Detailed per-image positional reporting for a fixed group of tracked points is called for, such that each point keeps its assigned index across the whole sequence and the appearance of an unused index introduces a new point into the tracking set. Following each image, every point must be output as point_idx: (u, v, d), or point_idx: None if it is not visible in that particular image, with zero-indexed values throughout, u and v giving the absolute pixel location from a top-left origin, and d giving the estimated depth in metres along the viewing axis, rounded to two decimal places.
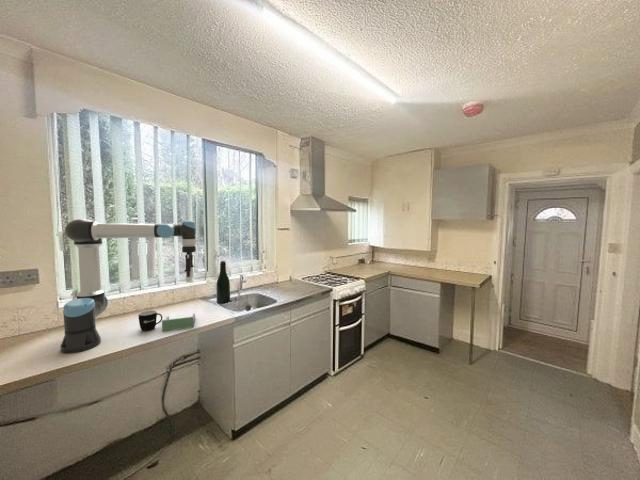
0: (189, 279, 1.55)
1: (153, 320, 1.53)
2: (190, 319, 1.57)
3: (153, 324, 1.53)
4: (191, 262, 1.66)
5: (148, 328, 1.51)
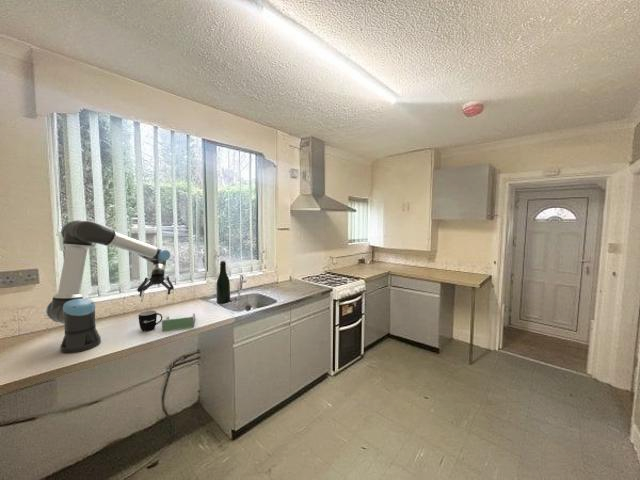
0: (167, 296, 1.68)
1: (153, 320, 1.53)
2: (190, 319, 1.57)
3: (153, 324, 1.53)
4: (148, 287, 1.69)
5: (148, 328, 1.51)
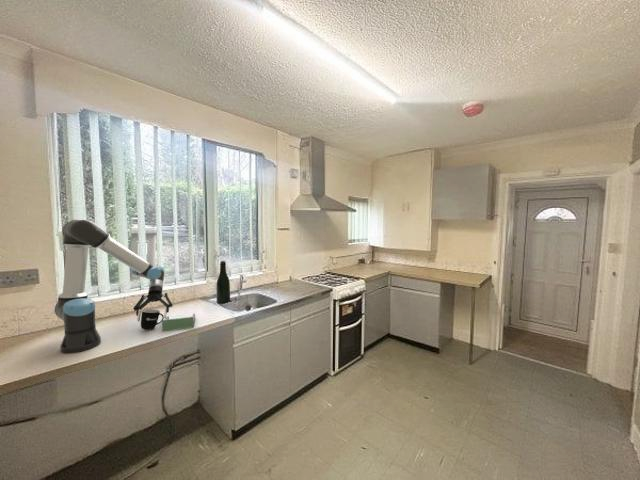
0: None
1: (155, 319, 1.54)
2: (190, 319, 1.57)
3: (154, 323, 1.54)
4: (145, 305, 1.60)
5: (149, 326, 1.52)
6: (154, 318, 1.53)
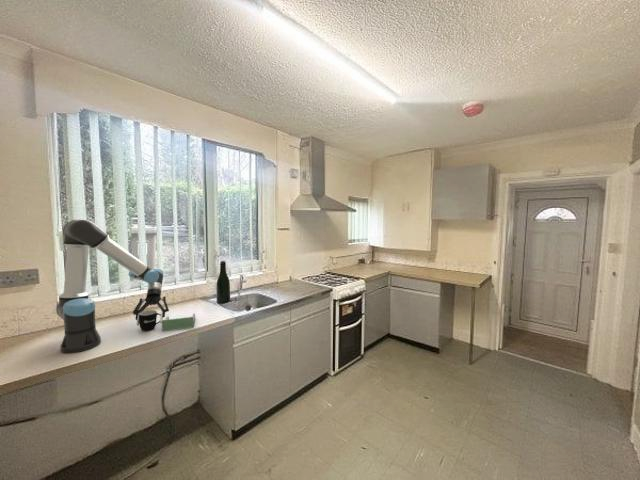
0: None
1: (153, 320, 1.53)
2: (190, 319, 1.57)
3: (153, 324, 1.53)
4: (144, 308, 1.58)
5: (148, 328, 1.51)
6: (152, 320, 1.52)
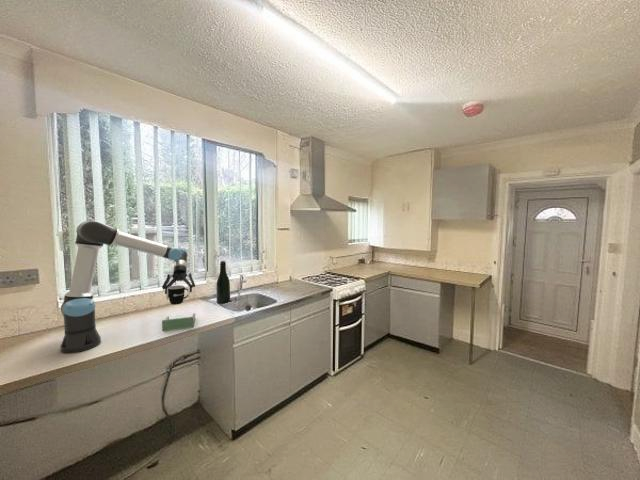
0: (189, 294, 1.63)
1: (182, 294, 1.60)
2: (190, 319, 1.57)
3: (182, 298, 1.61)
4: (172, 284, 1.65)
5: (177, 301, 1.59)
6: (180, 293, 1.59)
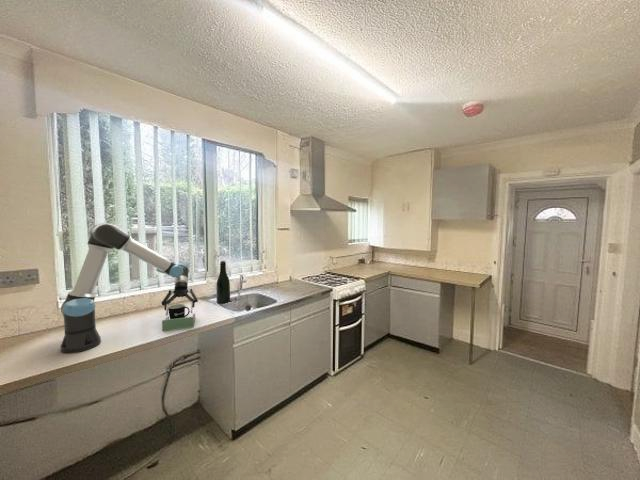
0: None
1: (182, 313, 1.61)
2: (190, 319, 1.57)
3: (182, 317, 1.62)
4: (172, 300, 1.66)
5: None
6: (181, 312, 1.60)
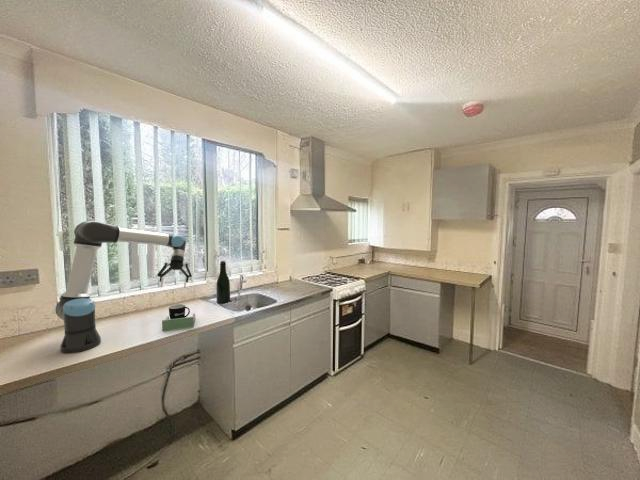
0: (185, 284, 1.74)
1: (183, 313, 1.61)
2: (190, 319, 1.57)
3: (183, 317, 1.62)
4: None
5: None
6: (181, 313, 1.60)
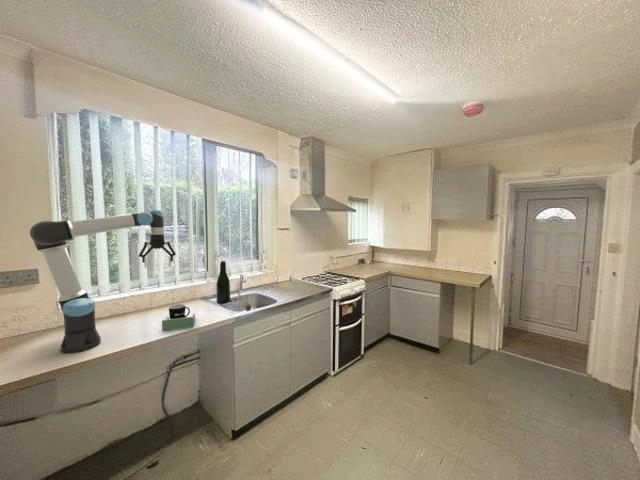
0: (170, 263, 1.71)
1: (183, 313, 1.61)
2: (190, 319, 1.57)
3: (183, 317, 1.62)
4: None
5: None
6: (182, 313, 1.60)
